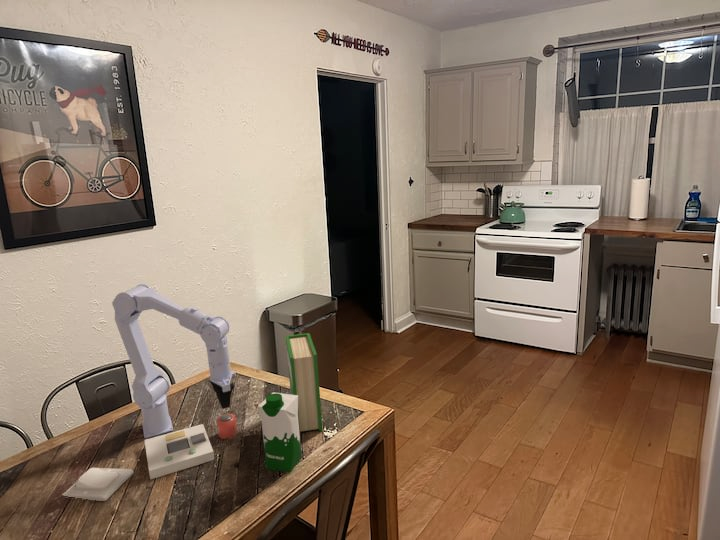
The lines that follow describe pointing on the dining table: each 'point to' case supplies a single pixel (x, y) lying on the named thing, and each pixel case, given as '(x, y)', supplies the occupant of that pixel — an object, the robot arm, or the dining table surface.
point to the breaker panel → (182, 459)
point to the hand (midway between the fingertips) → (224, 404)
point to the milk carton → (280, 431)
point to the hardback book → (304, 380)
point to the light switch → (98, 483)
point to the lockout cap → (227, 426)
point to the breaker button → (177, 446)
